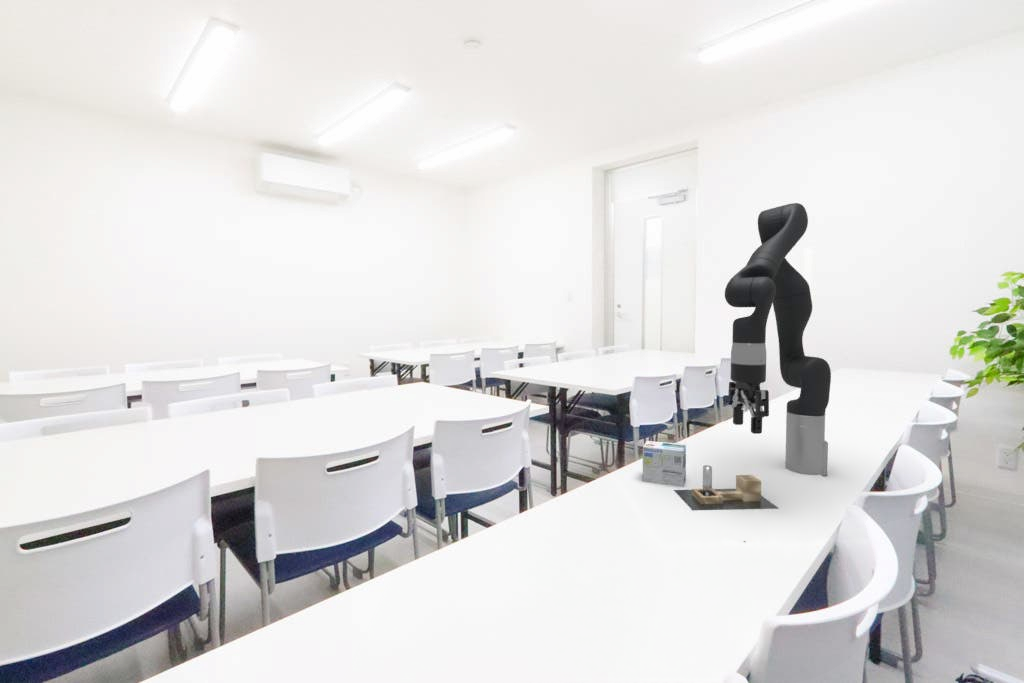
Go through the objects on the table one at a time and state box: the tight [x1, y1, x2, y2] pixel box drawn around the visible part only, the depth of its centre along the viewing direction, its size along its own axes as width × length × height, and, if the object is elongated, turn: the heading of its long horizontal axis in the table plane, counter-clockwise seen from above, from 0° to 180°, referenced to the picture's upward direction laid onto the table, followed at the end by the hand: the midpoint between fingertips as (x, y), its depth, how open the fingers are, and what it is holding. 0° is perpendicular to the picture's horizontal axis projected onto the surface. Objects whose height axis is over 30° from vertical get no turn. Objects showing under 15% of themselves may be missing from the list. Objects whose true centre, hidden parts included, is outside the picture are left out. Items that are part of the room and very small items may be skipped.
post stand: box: [673, 464, 780, 511], centre depth 112 cm, size 20×12×9 cm, turn 91°
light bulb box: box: [642, 440, 687, 488], centre depth 125 cm, size 11×7×11 cm, turn 65°
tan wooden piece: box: [691, 474, 762, 504], centre depth 112 cm, size 15×5×5 cm, turn 91°
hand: (746, 428), depth 111 cm, fingers open, 8 cm apart
